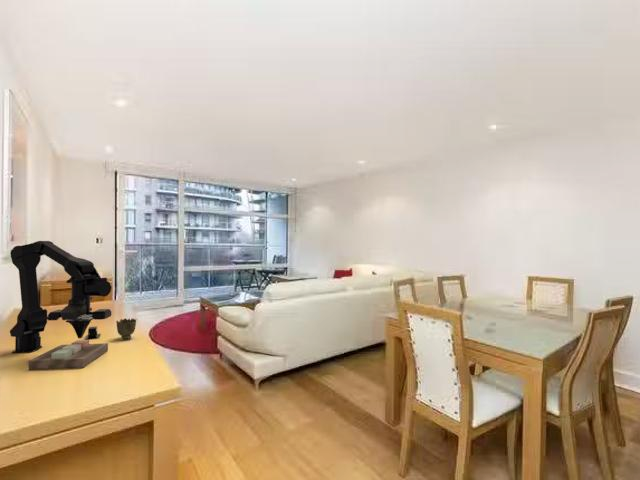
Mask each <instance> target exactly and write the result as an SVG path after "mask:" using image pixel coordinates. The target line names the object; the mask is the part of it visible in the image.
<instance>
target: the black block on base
mask: <svg viewBox="0 0 640 480" xmlns="http://www.w3.org/2000/svg"><path fill="white" fill-rule="evenodd" d="M101 335H102V334H101V333H98V325H97V326H89V327H88V331H87V334H86V336H85V337H84V339H83V340H89V341H90V340H97V339H100V336H101Z"/></svg>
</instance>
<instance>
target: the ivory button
mask: <svg viewBox="0 0 640 480" xmlns="http://www.w3.org/2000/svg"><path fill="white" fill-rule="evenodd" d="M66 345H67V346H65V347H63V348H62V350H63V349H72V353H76V352H78V351H80V350H81V344H74V345H69V344H66Z"/></svg>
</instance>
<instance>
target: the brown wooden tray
mask: <svg viewBox="0 0 640 480" xmlns="http://www.w3.org/2000/svg"><path fill="white" fill-rule="evenodd" d="M67 345H71V343H70V344H60V345H58V346H56V347H54V348H52V349H50V350H48V351H46V352H44V353H42V354H40V355H38V356H36V357H34V358H31V359H29V360H28V371H38V370H39V371H40V370H41V371H42V370H43V371H45V370H65V369H66V370H67V369H68V370H69V369H84V368H85V367H87V366H88V365H90V364H92V362H94V361H95V360H97V359H99V358H100V357H102V356H103V355H105V354H107V352H108V350H109V344H108V342H106V343H104V342H103V343H102V342H101V343H89V346H87V347H85V348H81V350H80V351H78V352H76V353H72V355H71V356H69V357H68V358H66V359H51V355H52V353H54V352H55V351H57V350H62V348H63V347H65V346H67Z"/></svg>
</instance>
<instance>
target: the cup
mask: <svg viewBox="0 0 640 480" xmlns="http://www.w3.org/2000/svg"><path fill="white" fill-rule="evenodd" d="M115 322H116V329H117V333H118V335H119V336H121V339H122V340H124V341H125V340H129V339H131V337H132V335H133V334H134V332H135V331H136V326H137V318H131V319H130V318H123V319H122V318H120V320H118V319H117V320H116V321H115Z"/></svg>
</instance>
